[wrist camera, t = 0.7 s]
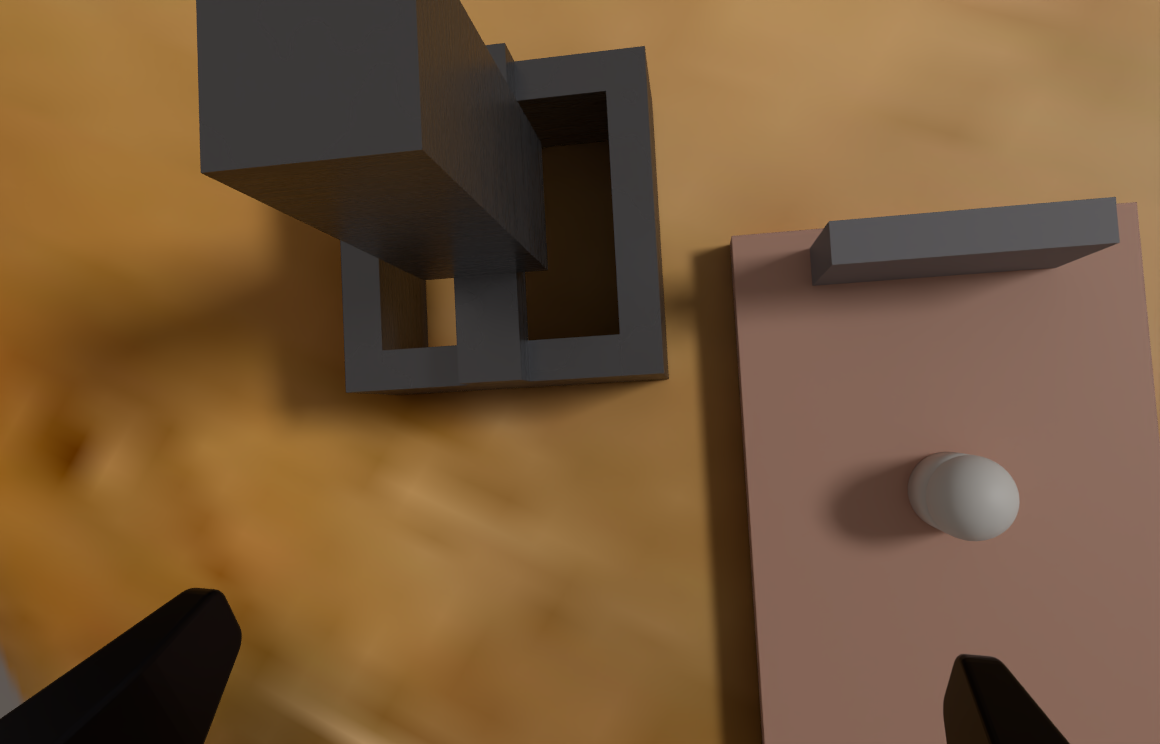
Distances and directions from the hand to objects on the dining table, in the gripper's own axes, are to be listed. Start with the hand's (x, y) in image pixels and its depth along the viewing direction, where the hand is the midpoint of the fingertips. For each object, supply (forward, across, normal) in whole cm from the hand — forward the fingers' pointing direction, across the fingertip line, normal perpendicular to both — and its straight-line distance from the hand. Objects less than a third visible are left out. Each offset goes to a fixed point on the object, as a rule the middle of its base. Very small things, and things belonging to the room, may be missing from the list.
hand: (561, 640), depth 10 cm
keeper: (+11, -8, +7) cm, 15 cm away
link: (+14, +4, +2) cm, 15 cm away
